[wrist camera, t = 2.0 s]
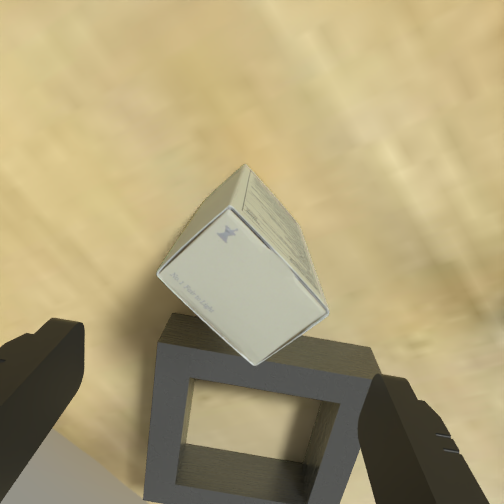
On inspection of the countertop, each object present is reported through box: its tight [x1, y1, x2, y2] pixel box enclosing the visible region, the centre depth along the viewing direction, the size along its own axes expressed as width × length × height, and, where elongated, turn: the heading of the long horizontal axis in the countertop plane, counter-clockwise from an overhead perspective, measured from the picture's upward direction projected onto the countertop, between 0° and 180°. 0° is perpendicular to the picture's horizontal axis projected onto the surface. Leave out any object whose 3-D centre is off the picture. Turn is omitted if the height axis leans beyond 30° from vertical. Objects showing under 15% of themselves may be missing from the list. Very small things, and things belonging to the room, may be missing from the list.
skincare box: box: [156, 164, 329, 366], centre depth 20 cm, size 6×4×12 cm
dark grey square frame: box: [143, 313, 382, 504], centre depth 30 cm, size 16×16×4 cm
